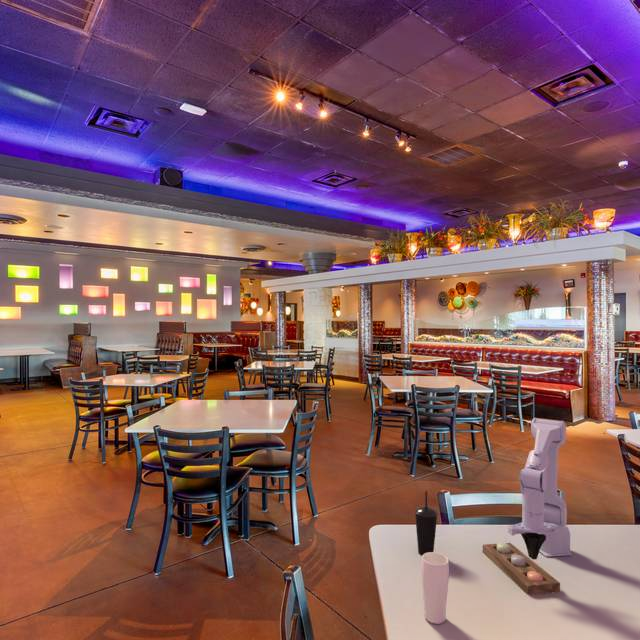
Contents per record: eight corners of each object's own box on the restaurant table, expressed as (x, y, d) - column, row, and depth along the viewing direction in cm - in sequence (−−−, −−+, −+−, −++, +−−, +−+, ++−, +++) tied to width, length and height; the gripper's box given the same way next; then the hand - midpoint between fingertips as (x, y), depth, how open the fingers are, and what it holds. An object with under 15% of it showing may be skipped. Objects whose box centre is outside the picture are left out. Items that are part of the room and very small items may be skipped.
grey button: (520, 562, 138) (520, 554, 139) (528, 569, 135) (528, 560, 135) (508, 563, 138) (508, 555, 138) (516, 570, 134) (516, 561, 134)
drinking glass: (417, 610, 116) (418, 552, 116) (442, 609, 116) (443, 551, 117) (425, 627, 109) (426, 565, 109) (452, 626, 110) (453, 564, 110)
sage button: (505, 550, 146) (505, 542, 146) (512, 556, 142) (512, 548, 142) (494, 550, 146) (494, 542, 146) (501, 557, 142) (501, 548, 142)
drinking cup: (422, 545, 151) (422, 485, 152) (442, 553, 146) (442, 491, 147) (409, 552, 146) (409, 491, 147) (429, 561, 141) (430, 497, 141)
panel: (510, 550, 149) (510, 542, 149) (560, 592, 125) (560, 582, 125) (482, 552, 147) (482, 544, 147) (527, 594, 123) (527, 585, 124)
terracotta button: (536, 579, 131) (536, 570, 131) (545, 587, 127) (545, 578, 127) (524, 580, 130) (524, 571, 130) (532, 588, 126) (533, 579, 126)
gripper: (518, 517, 125) (518, 566, 124) (564, 514, 127) (564, 562, 127) (504, 507, 132) (503, 554, 131) (548, 505, 134) (548, 550, 134)
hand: (532, 557), depth 130 cm, fingers closed
